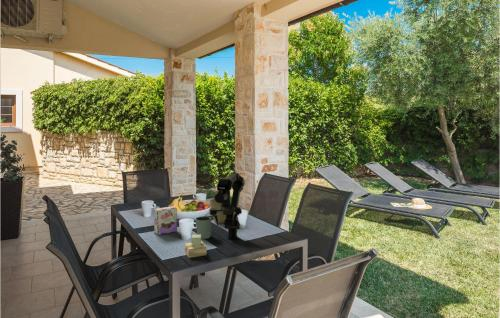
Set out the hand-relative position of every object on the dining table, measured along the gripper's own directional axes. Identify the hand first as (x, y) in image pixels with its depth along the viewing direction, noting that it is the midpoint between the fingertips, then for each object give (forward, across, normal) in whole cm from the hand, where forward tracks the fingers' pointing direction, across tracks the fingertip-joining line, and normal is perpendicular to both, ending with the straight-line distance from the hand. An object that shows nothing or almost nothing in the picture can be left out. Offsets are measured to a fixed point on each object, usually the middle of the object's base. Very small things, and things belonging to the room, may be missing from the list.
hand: (225, 225), depth 204 cm
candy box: (+12, -36, +30) cm, 48 cm away
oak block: (+12, -18, -10) cm, 24 cm away
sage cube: (+7, -18, -10) cm, 21 cm away
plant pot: (+12, +2, +48) cm, 50 cm away
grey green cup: (+12, -12, +17) cm, 24 cm away
